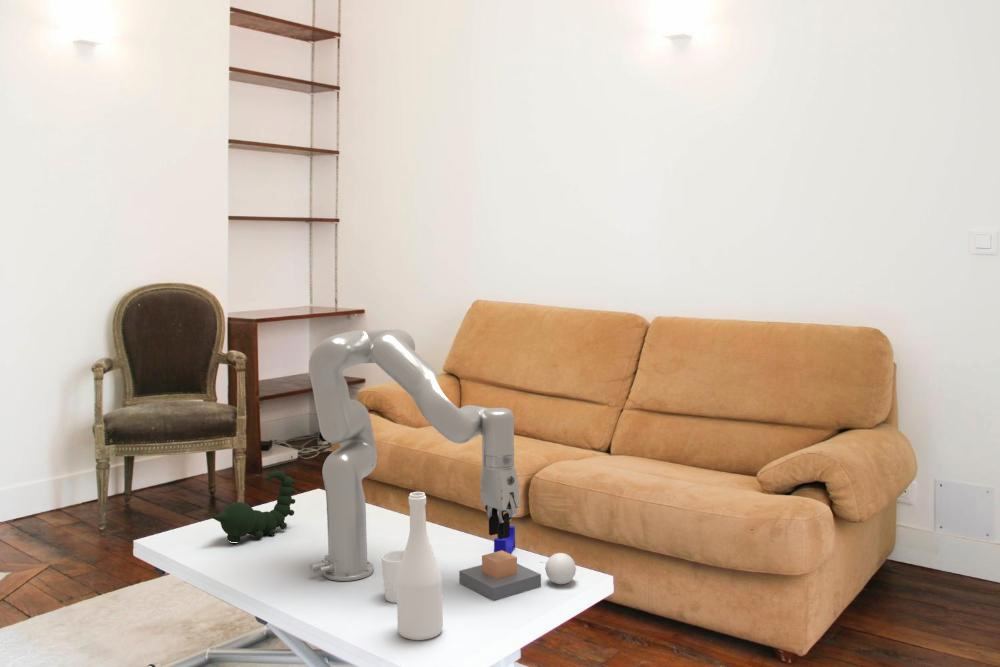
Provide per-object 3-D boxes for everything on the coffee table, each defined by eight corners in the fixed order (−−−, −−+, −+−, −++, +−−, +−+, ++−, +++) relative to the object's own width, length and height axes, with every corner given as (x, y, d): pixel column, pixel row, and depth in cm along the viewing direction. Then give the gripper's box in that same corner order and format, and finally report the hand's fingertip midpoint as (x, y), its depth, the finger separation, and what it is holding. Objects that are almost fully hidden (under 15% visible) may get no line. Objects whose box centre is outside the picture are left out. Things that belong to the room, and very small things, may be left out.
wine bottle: (445, 622, 199) (442, 487, 196) (440, 642, 189) (437, 500, 186) (401, 622, 199) (398, 487, 196) (394, 641, 190) (390, 500, 187)
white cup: (402, 607, 207) (401, 564, 206) (375, 600, 212) (374, 558, 211) (423, 595, 214) (422, 553, 213) (397, 588, 218) (395, 548, 217)
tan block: (496, 590, 216) (496, 562, 215) (482, 583, 221) (481, 555, 220) (517, 584, 219) (516, 557, 219) (502, 577, 224) (502, 550, 223)
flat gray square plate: (493, 600, 210) (493, 588, 210) (459, 582, 221) (459, 570, 221) (541, 586, 218) (540, 574, 218) (505, 569, 230) (505, 558, 229)
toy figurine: (281, 530, 269) (202, 543, 251) (283, 466, 268) (205, 475, 250) (299, 537, 263) (220, 551, 244) (302, 471, 262) (223, 481, 244)
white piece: (582, 583, 220) (582, 554, 219) (559, 591, 215) (559, 561, 214) (554, 572, 228) (554, 543, 227) (531, 579, 223) (531, 550, 222)
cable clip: (499, 546, 248) (498, 525, 247) (515, 547, 247) (515, 526, 246) (488, 562, 236) (488, 539, 235) (505, 563, 235) (505, 540, 234)
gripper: (532, 464, 213) (532, 541, 214) (491, 452, 226) (492, 524, 227) (506, 469, 208) (507, 548, 210) (465, 456, 221) (467, 530, 223)
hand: (499, 535), depth 219 cm, fingers closed
